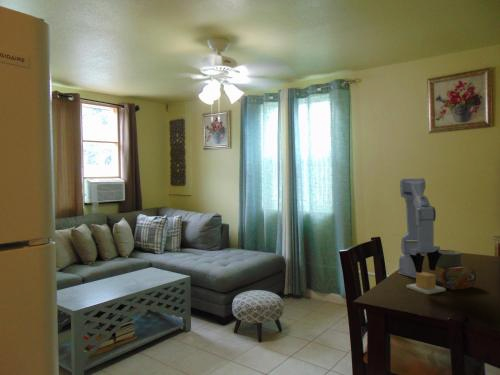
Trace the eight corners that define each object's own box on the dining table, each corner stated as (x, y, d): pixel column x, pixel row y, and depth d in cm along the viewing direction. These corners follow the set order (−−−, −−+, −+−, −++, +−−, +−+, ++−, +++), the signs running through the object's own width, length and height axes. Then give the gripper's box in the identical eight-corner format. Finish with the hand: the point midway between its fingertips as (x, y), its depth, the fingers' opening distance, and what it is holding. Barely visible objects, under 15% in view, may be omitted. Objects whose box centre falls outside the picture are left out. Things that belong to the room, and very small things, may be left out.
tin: (446, 290, 143) (446, 269, 142) (440, 288, 146) (439, 267, 145) (476, 287, 147) (476, 266, 146) (470, 285, 150) (470, 264, 149)
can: (433, 262, 191) (433, 249, 191) (459, 263, 186) (459, 250, 186) (435, 267, 180) (435, 253, 180) (463, 269, 175) (463, 255, 175)
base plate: (406, 287, 147) (406, 275, 147) (423, 284, 152) (423, 272, 151) (427, 294, 138) (427, 281, 138) (445, 290, 142) (445, 278, 142)
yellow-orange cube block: (416, 285, 146) (416, 273, 146) (424, 284, 148) (424, 271, 148) (426, 289, 142) (426, 276, 141) (435, 287, 144) (435, 274, 144)
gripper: (421, 240, 138) (421, 275, 138) (447, 237, 144) (447, 271, 144) (406, 237, 144) (406, 271, 144) (431, 234, 150) (431, 267, 151)
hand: (425, 271), depth 145 cm, fingers open, 7 cm apart
